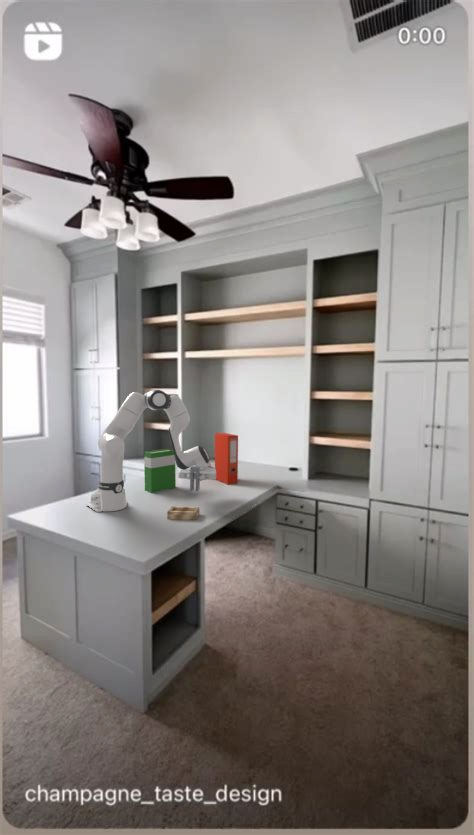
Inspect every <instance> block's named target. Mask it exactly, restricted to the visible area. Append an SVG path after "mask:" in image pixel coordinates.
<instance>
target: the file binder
mask: <svg viewBox="0 0 474 835" xmlns="http://www.w3.org/2000/svg"><path fill="white" fill-rule="evenodd" d="M238 461H239V435H236V434H231V433H227V432H226V433H225V432H221V433H220V432H218V433H216V432H215V433H214V467H215V469H216V480H215V481H219V482H221V483H223V484H225V485H228V486H229V485H235V484H238V480H239V479H238V478H239V477H238V476H239V470H238V469H239V465H238V464H239V462H238Z"/></svg>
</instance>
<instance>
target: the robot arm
mask: <svg viewBox="0 0 474 835" xmlns="http://www.w3.org/2000/svg"><path fill="white" fill-rule="evenodd" d="M146 409H148V410H150V411H151V410H152V411H161V410H163V411H164V412H165V413H166V414H167V418H168V419H169V422H170V423H169V424H170V426H169V428H168V436H169V440H170V443H171V447H172V450H173V451H174V455H175V465H176V467H177V468H178V469H180V470H179V471H178V473H177V474H178V475H177V476H178V478H179V479H181V480H182V479H183V480H184V479H186V480H190V469H189V468H191V467H192V466H195V467H200V476H199V480H200V482H201V481H207V480H210V481H217V480H216V469H215V466H212V464H211V462H210V455H209V453H208V450H207V448H205V446H202V445H197V446H194V447H191V448H190V449H186V450H185V451H183V450H182V448H181V447H182V446H181V444H180V440H179V436H180V434H182V432H183V431H185V429H186V428H187V427H188V426H189V425H190V422H191V417H190V414H189V412H188V409H187V407H186V404H184V402H183V400H182V399H181V398H180V396H179V395H177V394H172V395H169V394H167V393H165V391H163V390H160V389H152V390H149V391H146V392H145V393H143V394H141V393H140V392H136V391H135V392H131V393H130V394H129V395H128V396H127V397H126V399H125V400H124V401H123V402H122V404H121V406H119V409H118V410H117V412H116V414H115V415H114V417H113V419H112V420H111V421H110V423H109V424H108V426H107V427H106V428H105V429H104V431H103V432H102V433H101V435H100V436H99V439H97V440H98V441H97V445H98V448H99V450H100V451H101V458H100V459H101V461H100V466H99V469H100V470H99V471H100V481H99V482H97V484H98V488H97V489H96V490H95V491H94V492H93V493H92V494H91V496H90V501H89V502H87V503H86V504H85V506H86V505H87V506H89V507H90V508H89V507H88V508H89V509H91V508H92V509H93V511H94V510H95V512H96V513H100V512H102V511H103V512H115V511H121V510H124V509H125V508H126V507H127V506H128V502H129V501H127V495H126V489H125V488H124V487H125V481H124V477H123V476H124V472H123V470H124V467H123V465H124V464H123V463H124V456H125V455H124V454H125V448H126V447H125V446H126V445H125V442H124V440H125V438H126V437H127V436H128V435H129V433H131V432H132V431H133V429H134V427H135V425H136V424H137V422H138V420H139V419H140V417H141V415H142V413H143V412H144V411H145V410H146ZM194 481H196V472H194ZM87 506H86V507H87ZM92 509H91V510H92Z"/></svg>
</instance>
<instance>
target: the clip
mask: <svg viewBox="0 0 474 835" xmlns="http://www.w3.org/2000/svg"><path fill="white" fill-rule="evenodd" d="M195 466H196V465H194V466H191V467H190V469H189V470H190V479H189V491H190V492H193V491H194V490H195V492H199V491H200V488H201V487H200V486H201V485H200V482H201V481H200V480H199V476H200V467H195ZM194 472H196V480H195V479H194Z"/></svg>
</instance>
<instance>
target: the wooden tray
mask: <svg viewBox="0 0 474 835" xmlns="http://www.w3.org/2000/svg"><path fill="white" fill-rule="evenodd" d="M166 513H167V518H166V519H167V520H169V519H171V520H190V519H196V520H197V519H198V517H199V516H200V507H199V506H171V507H170V508H169V509H168V510H167V512H166Z"/></svg>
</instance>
